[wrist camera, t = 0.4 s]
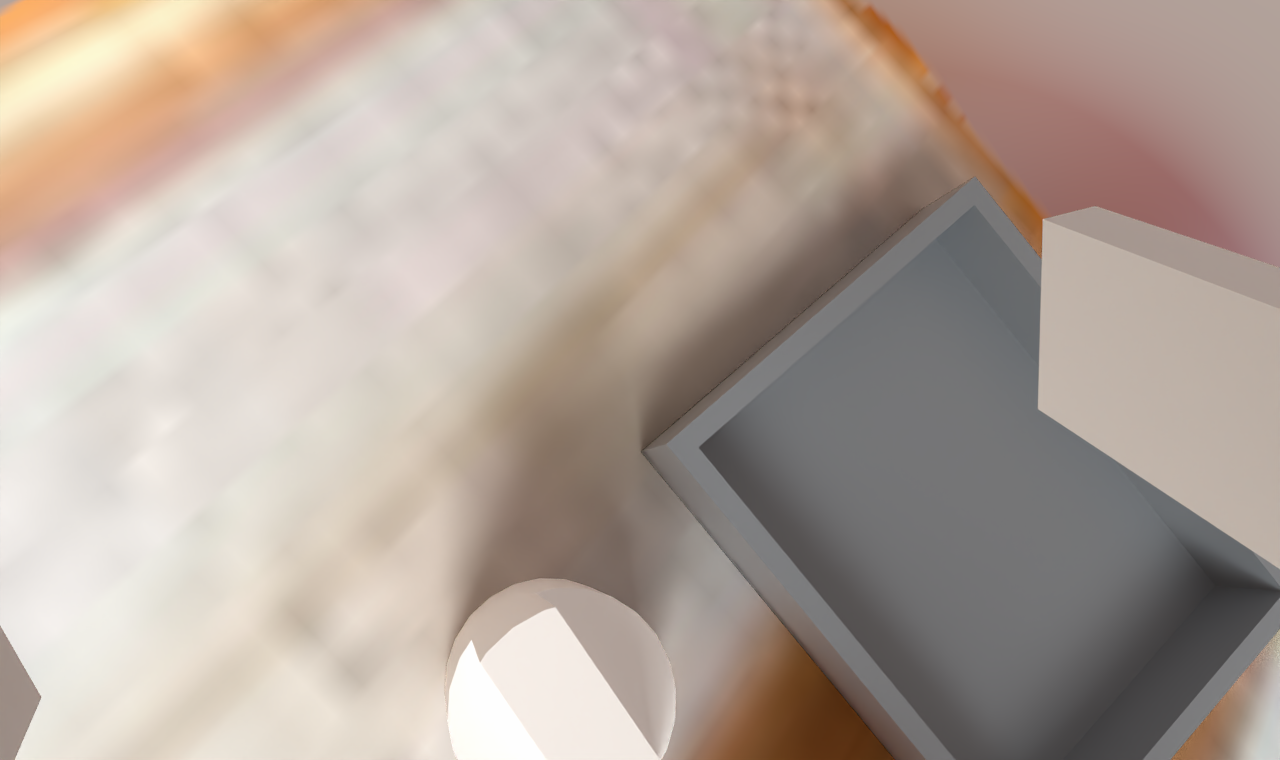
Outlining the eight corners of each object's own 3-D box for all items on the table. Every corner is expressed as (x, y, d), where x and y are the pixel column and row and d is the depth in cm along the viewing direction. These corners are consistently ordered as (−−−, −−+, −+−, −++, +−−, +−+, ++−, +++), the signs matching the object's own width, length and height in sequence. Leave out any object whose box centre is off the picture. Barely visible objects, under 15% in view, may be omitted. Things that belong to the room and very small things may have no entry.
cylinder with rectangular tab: (681, 698, 44) (771, 763, 33) (519, 828, 42) (555, 947, 31) (571, 538, 44) (622, 546, 33) (403, 658, 42) (395, 714, 30)
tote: (1226, 586, 51) (1309, 593, 47) (982, 865, 46) (1047, 906, 42) (922, 208, 51) (975, 176, 46) (640, 451, 46) (666, 444, 41)
